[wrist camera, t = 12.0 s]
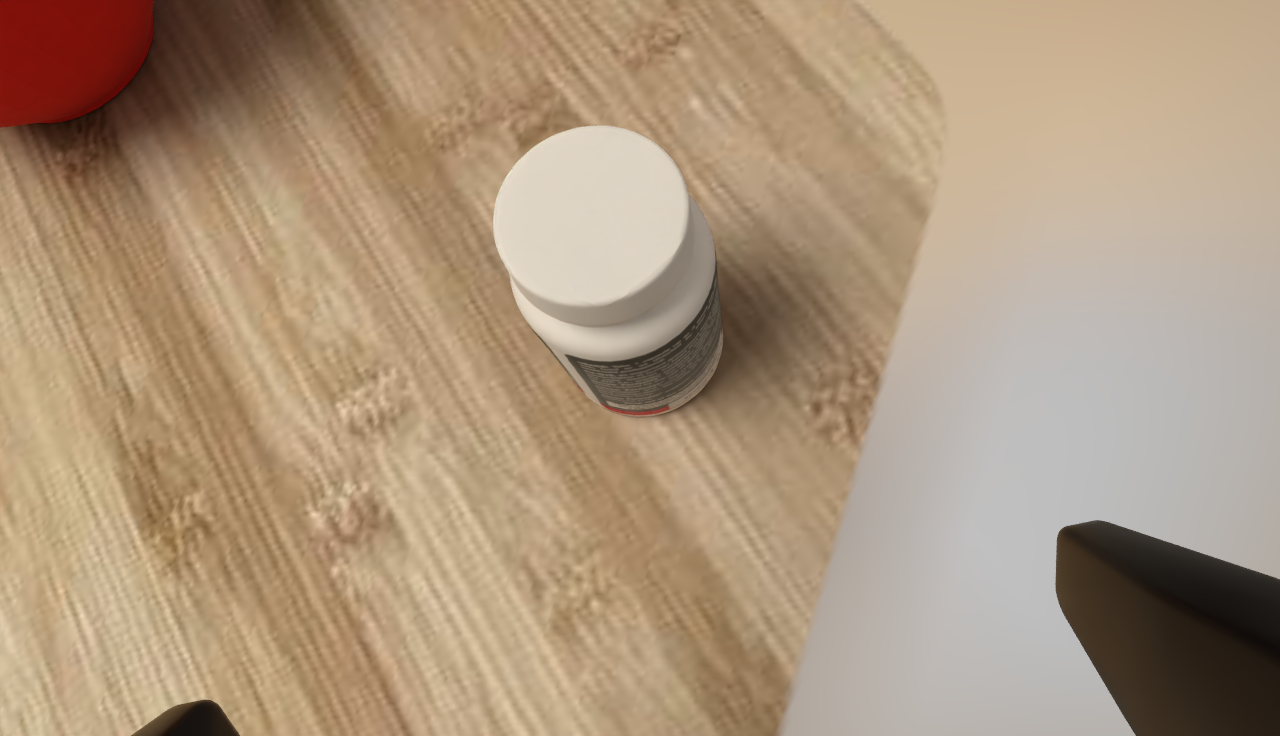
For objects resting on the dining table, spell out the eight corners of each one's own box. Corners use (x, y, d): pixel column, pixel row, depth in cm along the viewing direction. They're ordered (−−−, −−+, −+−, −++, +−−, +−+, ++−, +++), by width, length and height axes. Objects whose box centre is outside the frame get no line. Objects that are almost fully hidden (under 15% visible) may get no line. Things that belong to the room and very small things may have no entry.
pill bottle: (754, 317, 23) (759, 171, 15) (665, 450, 23) (623, 368, 15) (623, 241, 25) (565, 70, 17) (534, 365, 24) (430, 247, 16)
